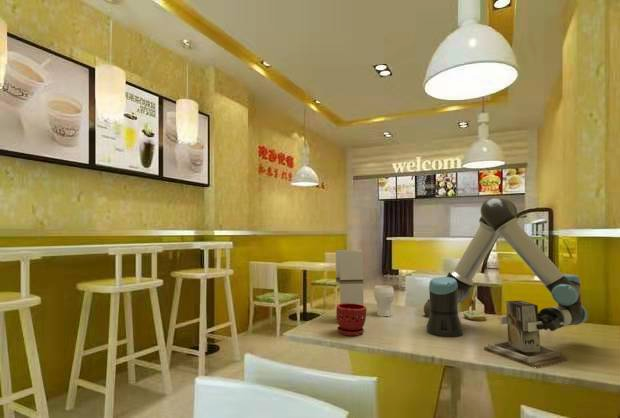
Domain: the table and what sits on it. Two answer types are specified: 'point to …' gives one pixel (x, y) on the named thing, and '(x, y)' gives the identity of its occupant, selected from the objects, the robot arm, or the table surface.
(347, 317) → the plant pot
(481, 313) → the decorated donut
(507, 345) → the brown flat tray
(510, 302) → the coffee box
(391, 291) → the cup
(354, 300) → the white banded column
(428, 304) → the vase
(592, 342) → the table surface
